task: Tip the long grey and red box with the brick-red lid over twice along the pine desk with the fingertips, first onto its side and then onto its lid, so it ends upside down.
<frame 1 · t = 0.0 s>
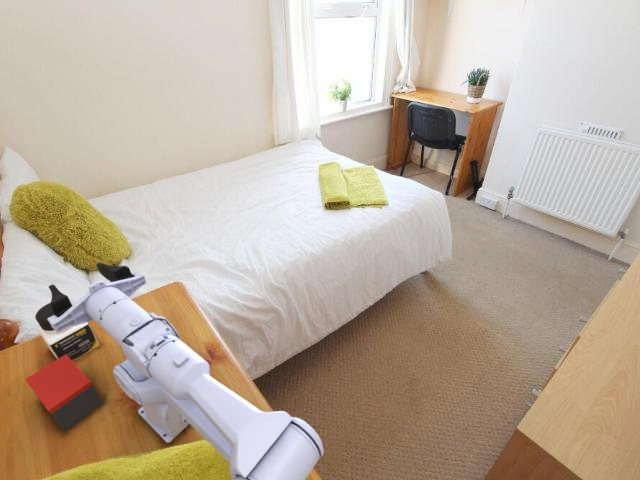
hand: (77, 277, 59), 22 cm above the table, tool horizontal, fingers open, 7 cm apart
medicine bottle: (76, 348, 73), on the table
grey and red box: (72, 402, 63), on the table
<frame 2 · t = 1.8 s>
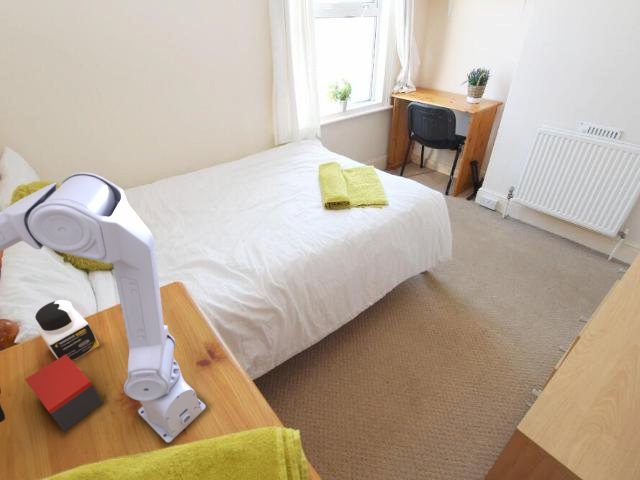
nothing on the table moved.
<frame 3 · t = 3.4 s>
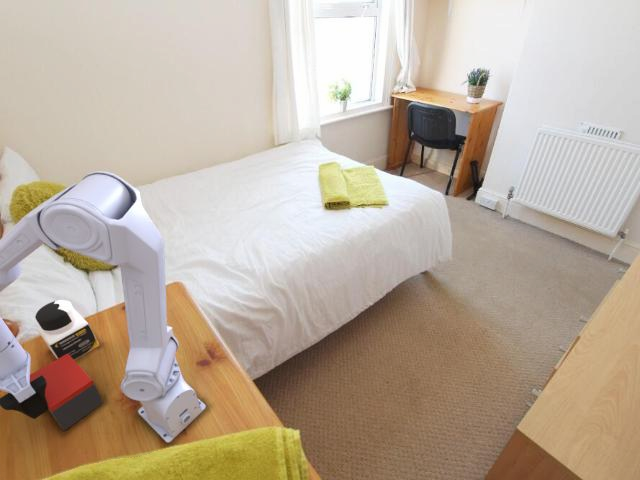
hand: (31, 400, 57), 6 cm above the table, tool pointing down
grey and red box: (72, 401, 63), on the table, touching gripper
everything else where it was.
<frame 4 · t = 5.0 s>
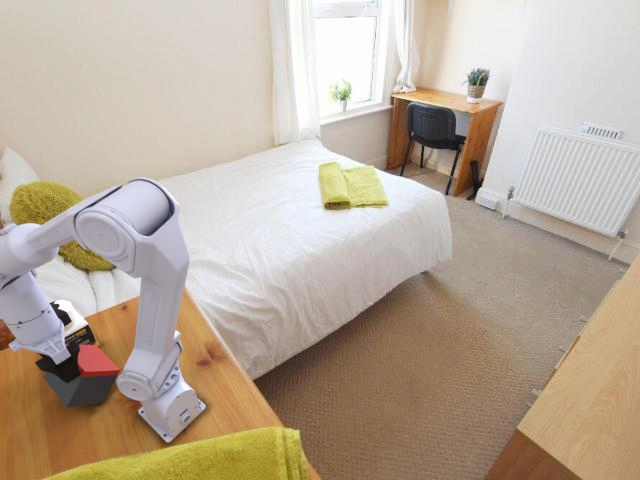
hand: (63, 367, 59), 8 cm above the table, tool pointing down
grey and red box: (73, 390, 62), point 2 cm above the table, tilted 45°, touching gripper
everything else where it was.
when the fingers open (8 cm above the table, at t = 5.5 s): grey and red box moves 2 cm and tips over, point 3 cm above the table.
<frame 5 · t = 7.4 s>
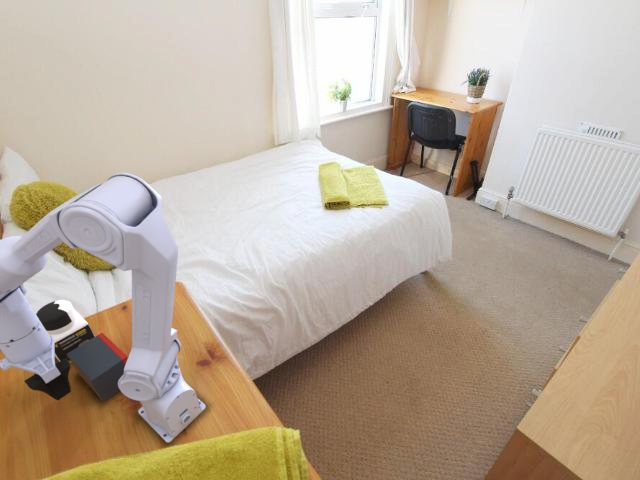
hand: (54, 383, 59), 6 cm above the table, tool pointing down, fingers open, 7 cm apart
grey and red box: (85, 378, 63), point 3 cm above the table, tilted 90°
everything else where it was.
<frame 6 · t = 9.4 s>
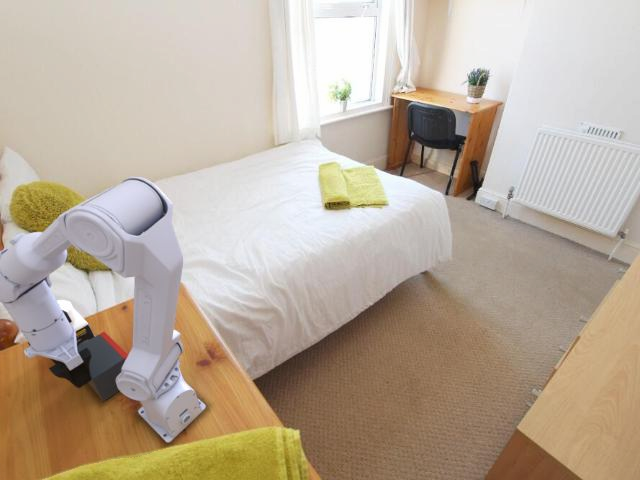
hand: (74, 372, 61), 6 cm above the table, tool pointing down, fingers open, 7 cm apart
grey and red box: (85, 376, 63), point 4 cm above the table, tilted 92°, touching gripper
everything else where it was.
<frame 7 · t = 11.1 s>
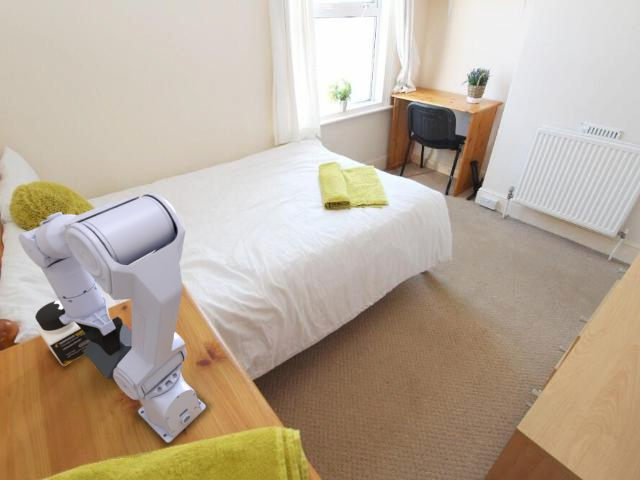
hand: (103, 341, 64), 8 cm above the table, tool pointing down
grey and red box: (103, 349, 64), point 7 cm above the table, tilted 136°, touching gripper
everything else where it was.
when the fingers open (8 cm above the table, at t = 11.6 s): grey and red box moves 4 cm and tips over, point 7 cm above the table.
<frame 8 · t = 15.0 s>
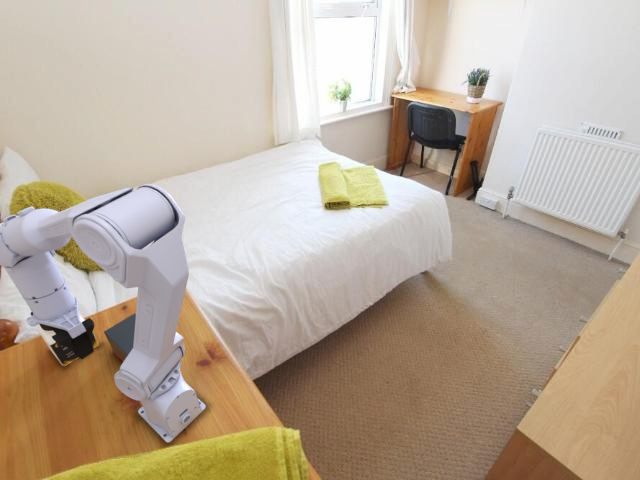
hand: (77, 344, 61), 10 cm above the table, tool pointing down, fingers open, 7 cm apart
grey and red box: (131, 332, 68), point 7 cm above the table, tilted 180°
everything else where it was.
at the end: grey and red box tilted 180°; grey and red box inside the target area (0.5 cm from its centre), point 6.6 cm above the table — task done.
